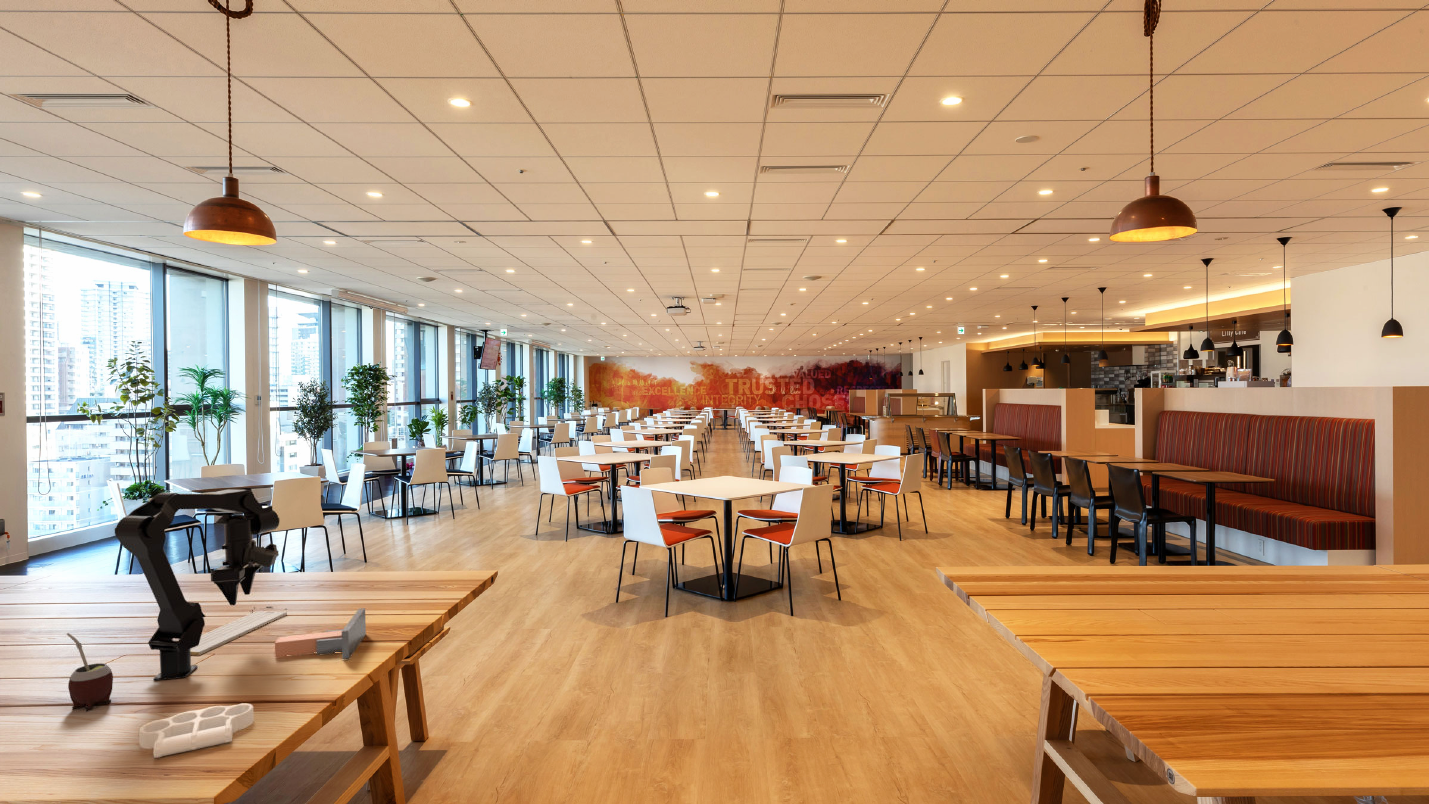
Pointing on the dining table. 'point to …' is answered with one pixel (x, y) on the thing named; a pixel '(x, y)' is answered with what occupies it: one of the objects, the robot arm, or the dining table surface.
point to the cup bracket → (345, 637)
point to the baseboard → (234, 630)
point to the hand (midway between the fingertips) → (240, 599)
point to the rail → (301, 643)
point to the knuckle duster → (195, 729)
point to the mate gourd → (90, 683)
